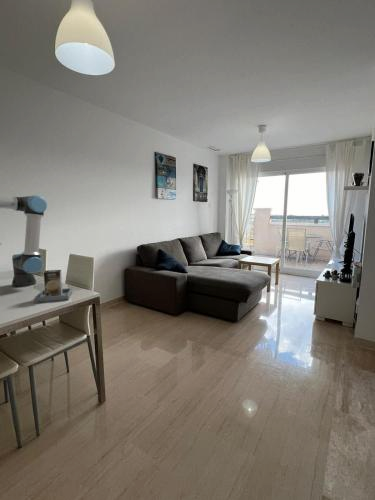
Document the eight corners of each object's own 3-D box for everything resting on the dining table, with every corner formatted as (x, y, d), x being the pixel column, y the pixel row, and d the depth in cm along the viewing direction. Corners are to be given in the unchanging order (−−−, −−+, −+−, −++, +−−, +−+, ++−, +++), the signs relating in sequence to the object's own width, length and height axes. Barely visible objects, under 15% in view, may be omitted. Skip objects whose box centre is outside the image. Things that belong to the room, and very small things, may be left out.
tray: (41, 295, 165) (41, 290, 164) (72, 292, 170) (71, 288, 169) (34, 303, 150) (34, 298, 149) (68, 300, 155) (68, 295, 154)
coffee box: (45, 298, 155) (42, 272, 153) (47, 295, 161) (44, 270, 159) (61, 297, 158) (59, 271, 156) (63, 294, 164) (61, 269, 162)
